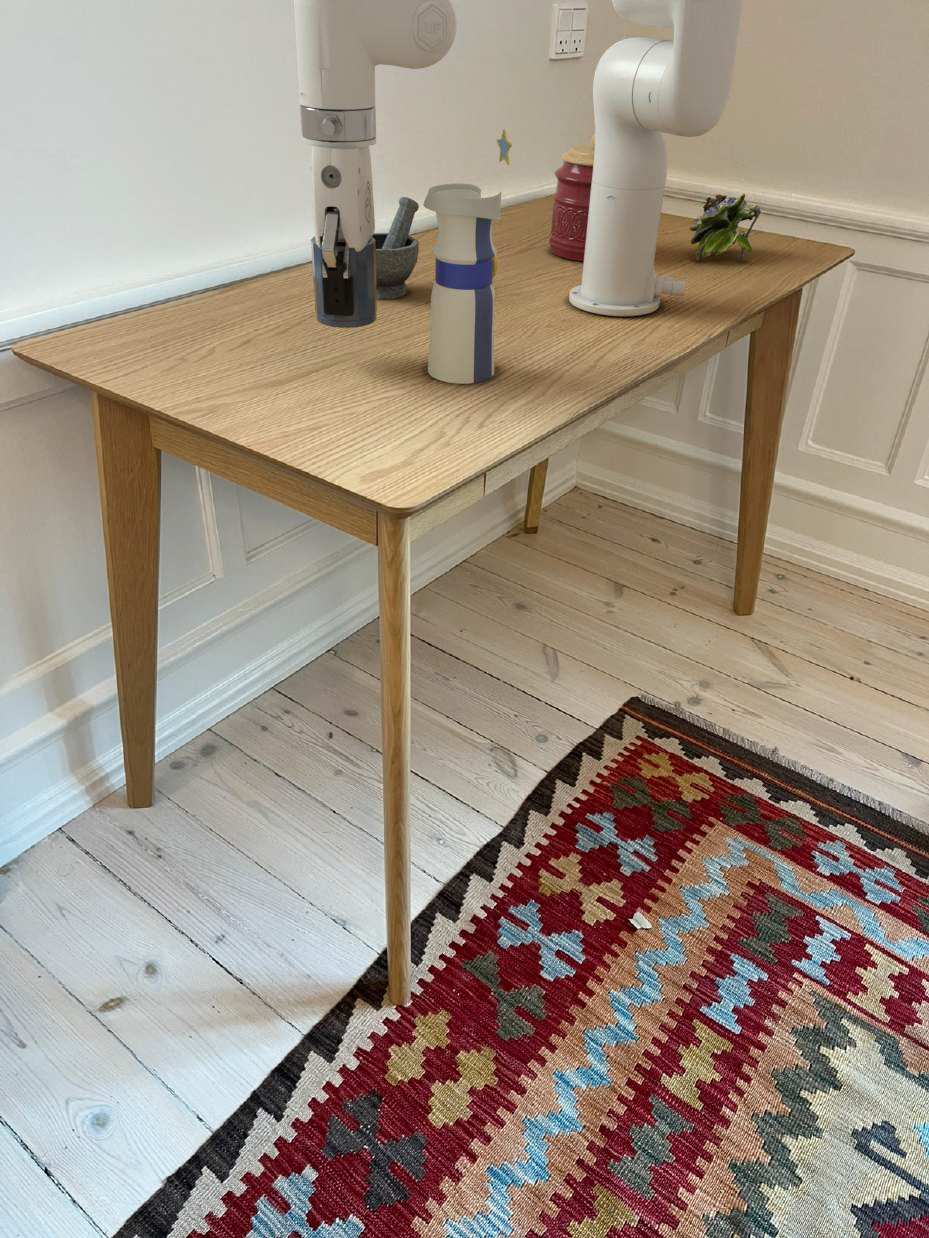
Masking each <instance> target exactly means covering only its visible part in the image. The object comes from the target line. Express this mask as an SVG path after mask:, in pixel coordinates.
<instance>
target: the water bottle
mask: <svg viewBox="0 0 929 1238" xmlns="http://www.w3.org/2000/svg"><path fill="white" fill-rule="evenodd" d="M496 144H497V145H498V148H499V161H498V162H499V163H502V162H503V161H504V162H505V163H506V165H508V166H509V165H510V157H509V150H511V148H512V146H513V144H512V142H510V141H508V138H507V133H506V129H505V128H503V129H502V134H501V138H496ZM501 204H502V191H499V193H497V194H496V195H492V196H488V197H482V189H481V188H480V187H479V186H477V185H475V184H471V183H457V182H456V183H445V184H444V183H443V184H438V185H434V186H432V187H431V186H430V188H429V189H428V192H427V194H426V196H425V199H424V201H423V204H422V205H423V207H424V208H425V209H427V210H429V211H432V212H435V216H436V220H437V229H438V230H437V237H436V242H435V244H434V245H433V246H432V248H431V253H432V255H434V257H435V269H434V271H435V273H434V275H435V279H434V283H433V285H432V289H431V295H430V318H429V319H430V320H429V321H430V322H429V323H430V324H429V330H430V331H429V347H428V361H427V373H428V375H429V376H431V378H433V379H435V380H438V381H440V382H445V383H448V384H458V385H459V384H462V385H463V384H464V385H466V384H476V383H482V382H484V381H488V380H490V379H491V378H492V377H493V376H494V375H495V321H496V320H495V319H496V318H495V317H496V315H495V314H496V293H495V287H494V284H493V278H495V276H496V275H497V272H498V259H497V254H498V251H497V249H496V247H495V245H494V242H493V236H492V233H493V232H492V231H493V230H492V229H493V224H494V223H493V222H494V221H499V225H500V226H502V217H501V215H502V214H501V208H502V207H501V206H502V205H501Z"/></svg>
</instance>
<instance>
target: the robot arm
mask: <svg viewBox="0 0 929 1238" xmlns="http://www.w3.org/2000/svg"><path fill="white" fill-rule="evenodd" d="M611 2H612V3H611V4H612V6H613V9H614V11H615V13H616V14H617V15H618V16H619V17H620V18H621V19H623V20H624V21H626V22H629V23H631V24H635V25H642V26H651V27H661V28H670V29H671V28H672V29H673V40H670V39H663V38H654V37H653V38H652V37H639V36H638V37H630V38H624V39H622V40H619V41H617V42H615V43H613V44H612V45H611V46H610V47H608V48H607V49H606V50H605V52H604V53H603V54H602V55H601V57H600V59H599V61H598V62H597V64H596V68H595V71H594V76H593V81H592V105H593V116H594V134H595V153H594V165H593V176H592V184H591V194H590V204H589V215H588V225H587V235H586V245H585V255H584V261H583V264H582V265H583V267H582V276H581V277H582V278H581V284H579V285H576V286H574V287H573V288H571V290H569V294H568V295H569V296H568V300H569V303H570V304H571V305H572V306H574V307H576V308H577V309H579V310H582V311H584V312H587V313H591V314H596V315H601V316H609V317H636V316H637V317H638V316H643V315H649V314H651V313H654V312H655V311H657V310H658V309H659V308H660V305H661V304H660V303H661V295H670V296H676V297H684V296H685V294H686V287H687V281H686V280H676V278H675V277H659V275H657V273H656V270H655V267H654V266H655V265H654V264H655V259H656V258H655V257H656V252H657V251H656V250H657V244H658V237H659V229H660V224H661V217H662V216H661V214H662V208H663V201H664V195H665V194H664V193H665V187H666V185H667V184H666V183H667V176H668V175H667V174H668V155H667V149H666V142H665V140H664V139H665V138H664V135H663V133H664V134H669V135H672V136H673V135H674V136H680V137H685V138H686V137H687V138H690V137H691V138H696V137H700V136H702V135H705V134H706V133H708V132H710V131H711V130H712V129H714V127H716V125H717V124H718V122H719V121H720V120H721V118H722V116H723V114H724V112H725V110H726V107H727V104H728V101H729V97H730V93H731V89H732V83H733V77H734V70H735V63H736V55H737V45H738V39H739V38H738V37H739V31H740V23H741V15H742V8H743V7H742V6H743V0H611ZM293 14H294V28H295V30H294V31H295V48H296V63H297V80H298V95H299V104H300V105H299V109H300V110H299V111H300V112H299V113H300V127H301V128H300V129H301V142H302V143H303V144H305V145H308V146H311V181H312V182H311V185H312V186H311V187H312V210H313V211H312V214H313V228H314V236H315V238H316V244H317V245H318V247H319V248H321V249H322V253H323V260H322V262H323V269H322V275H323V277H322V279H323V297H324V312H325V314H327V315H338V316H352V315H353V314H354V291H353V277H350V263H351V249H350V248H355V250H356V252H360V251H361V250H362V249H363V248H364V247H365V246H366V244H367V243H368V242H369V240H370V239H371V237H372V236H373V234H374V233H375V231H376V230H375V229H376V222H375V221H376V220H375V204H374V203H375V202H374V187H373V186H374V185H373V172H372V159H371V158H372V157H371V149H370V146H374V145H376V144H377V117H376V116H377V115H376V111H377V110H376V67H377V66H378V65H383V66H385V65H386V66H393V67H399V68H403V69H411V70H420V69H426V68H428V67H432V66H433V65H435V64H437V63H439V62H440V61H441V60H443V58H444V57H445V56H446V55H447V54H449V51H450V50H451V48H452V46H453V44H454V42H455V39H456V34H457V17H456V13H455V8H454V6H453V4H452V2H451V0H293ZM337 242H346V246H337ZM321 245H322V246H321ZM338 254H344V264H343V260H342V259H341V256H337V255H338Z"/></svg>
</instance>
